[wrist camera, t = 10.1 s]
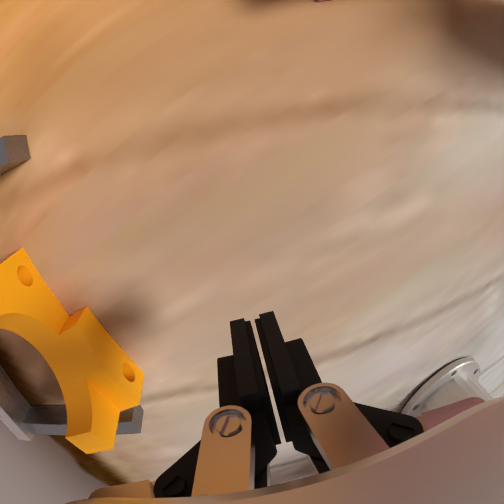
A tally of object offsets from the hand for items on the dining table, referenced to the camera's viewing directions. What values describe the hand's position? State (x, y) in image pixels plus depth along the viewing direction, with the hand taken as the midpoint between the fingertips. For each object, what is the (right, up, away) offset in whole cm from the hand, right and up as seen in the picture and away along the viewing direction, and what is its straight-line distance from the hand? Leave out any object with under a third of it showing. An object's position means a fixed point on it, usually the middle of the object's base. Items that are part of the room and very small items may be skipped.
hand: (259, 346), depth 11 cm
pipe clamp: (-13, -1, +6) cm, 14 cm away
